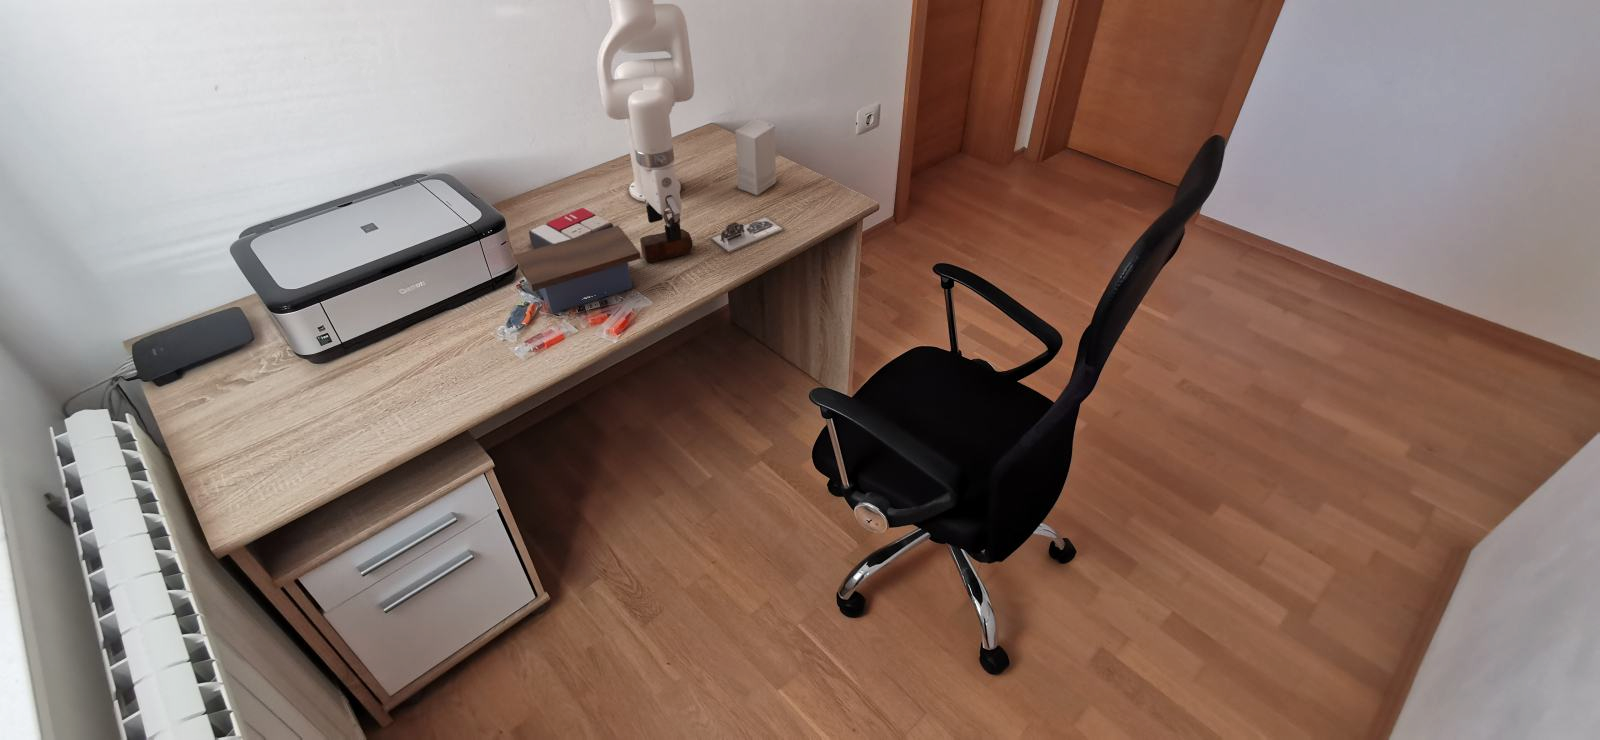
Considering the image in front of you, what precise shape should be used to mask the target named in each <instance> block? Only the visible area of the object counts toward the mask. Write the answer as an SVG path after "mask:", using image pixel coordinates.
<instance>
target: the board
mask: <svg viewBox="0 0 1600 740" xmlns="http://www.w3.org/2000/svg"><path fill="white" fill-rule="evenodd" d="M513 256H514V261H515V262H516V263H515V264H517V266H518V268H519V270H520V271H521V273H522V274H523V276H524V278H525V280H526V282H527V283H528V285H529V287H530V289H531V291H532V292H536V291H539V289H542V288H546V287H549V286H552V285H556V284H559V283H562V282H565V281H569V280H572V279H575V278H579V277H582V276H585V275H588V274H592V273H595V272H598V271H602V270H605V269H608V268H612V267H615V266H618V265H621V264H625V263H628V264H629V263H631V262H634V261H638V260H641V259H642V256H641V252H640V251H639V249H638V248H637V247H636V246H635V245H634V243H633V242H632V240H630V238H629V237H628V236H627V234H626V233H625V232H624V231H623V230H622V228H621V227H620V226H619V225H616V226H613V227H612V228H608V229H605V230H601V231H597V232H594V233H590V234H587V235H583V236H580V237H576V238H573V239H569V240H566V241H562V242H558V243H555V244H551V245H548V246H544V247H541V248H534V249H530V250H527V251H523V252H519V253H516V254H513Z"/></svg>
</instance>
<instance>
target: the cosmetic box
mask: <svg viewBox="0 0 1600 740" xmlns="http://www.w3.org/2000/svg"><path fill="white" fill-rule="evenodd" d="M734 132H735V133H734V134H735V151H736V170H737V171H736V172H737V173H736V174H737V188H738V189H739V190H741V191H744V192H747V193H749V194H751V195H752V194H753V195H755V196H759V195H760V194H762V193H763V192H765V191H766V190H768V189H769V188H770V187H772V186H773V185H775V184H776V182H777V173H776V170H777V169H776V168H777V167H776V165H777V163H776V125H775V124H772V123H769V122H766V121H763V120H760V119H758V118H754V119H753V120H751V121H750V122H748V123H746V124H744V125H743V126H741V127H739V128H737V129H736V130H735V131H734Z"/></svg>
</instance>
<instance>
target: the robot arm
mask: <svg viewBox="0 0 1600 740" xmlns="http://www.w3.org/2000/svg"><path fill="white" fill-rule="evenodd" d="M608 2H609V10H610V16H611V22H612V24H611V26H610V29H609V31H608V32H607V34H605V36H604V39H603V40H602V42H601V44H600V47H599V49H598V53H597V58H596V59H597V61H596V72H597V79H598V86H599V93H600V98H601V103H602V108H603V110H604V113H605V114H606V115H607V116H608V117H609V118H610V119H613V120H620V121H621V120H624V123H625V128H626V133H627V134H626V135H627V136H626V137H627V141H628V148H629V155H630V161H631V167H632V173H633V180H634V181H632V182H631V184H630V185H629V188H628V190H629V194H630V196H631V197H632V198H634V199H635V200H637V201H639V202H643V203H645V205H646V206H645V207H646V215H647V222H648V223H650V224H653V223H657V222H660V221H662V220H664V223H665V225H664V232H665V234H666V241H667V242H668V243H671V242H674V241H678V240H681V230H680V229H681V210H682V208H683V205H682V200H681V194H680V192H681V188H682V187H681V182H680V181H679V180H678V177H677V173H676V169H675V166H674V163H675V154H674V145H673V136H672V128H671V120H670V114H671V113H672V110H673V107H674V106H675V103H683V102H687V101H690V100H691V99H692V98H693V96H694V94H695V79H694V71H693V64H692V63H693V62H692V55H691V47H690V39H689V38H690V37H689V31H688V26H687V20H686V17H685V14H684V12H683V10H682V9H681V8H680V7H679V6H678V5H676V4H674V3H656V4H654V0H608ZM619 51H622V52H624V53H626V54H645V53H647V54H648V53H659V52H660V53H661V52H666V53H668V54H669V55H670V57H661V58H645V59H632V60H628V61H625V62H622V63H621V64H619V65H618V66H617V67H616V69H615V71H614V77H613V74H612V65H613V60H614V58H615V56H616V54H618V52H619ZM613 78H614V79H613ZM666 209H668V210H666ZM668 215H671V217H670V218H669V217H668Z"/></svg>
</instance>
